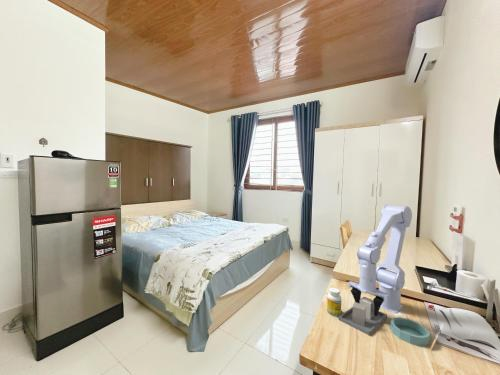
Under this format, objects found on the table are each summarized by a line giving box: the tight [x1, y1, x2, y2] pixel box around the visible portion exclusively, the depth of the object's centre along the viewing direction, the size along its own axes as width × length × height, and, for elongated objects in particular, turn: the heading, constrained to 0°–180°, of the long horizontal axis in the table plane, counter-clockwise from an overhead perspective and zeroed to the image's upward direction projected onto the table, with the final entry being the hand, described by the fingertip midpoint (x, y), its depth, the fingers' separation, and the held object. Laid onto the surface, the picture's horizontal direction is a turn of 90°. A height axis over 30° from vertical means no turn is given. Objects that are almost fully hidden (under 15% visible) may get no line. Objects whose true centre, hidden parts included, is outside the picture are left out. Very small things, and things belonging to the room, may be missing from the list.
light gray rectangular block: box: [352, 301, 366, 326], centre depth 81 cm, size 4×4×6 cm
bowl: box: [390, 317, 431, 347], centre depth 74 cm, size 11×11×3 cm
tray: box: [338, 306, 388, 336], centre depth 83 cm, size 17×11×2 cm, turn 130°
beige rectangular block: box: [360, 296, 374, 319], centre depth 85 cm, size 4×4×6 cm
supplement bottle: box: [326, 287, 342, 318], centre depth 86 cm, size 5×5×10 cm
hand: (366, 311), depth 85 cm, fingers open, 6 cm apart
